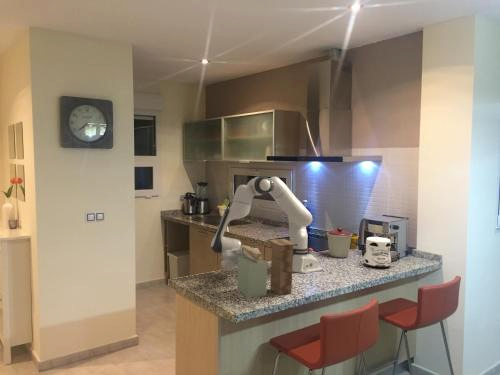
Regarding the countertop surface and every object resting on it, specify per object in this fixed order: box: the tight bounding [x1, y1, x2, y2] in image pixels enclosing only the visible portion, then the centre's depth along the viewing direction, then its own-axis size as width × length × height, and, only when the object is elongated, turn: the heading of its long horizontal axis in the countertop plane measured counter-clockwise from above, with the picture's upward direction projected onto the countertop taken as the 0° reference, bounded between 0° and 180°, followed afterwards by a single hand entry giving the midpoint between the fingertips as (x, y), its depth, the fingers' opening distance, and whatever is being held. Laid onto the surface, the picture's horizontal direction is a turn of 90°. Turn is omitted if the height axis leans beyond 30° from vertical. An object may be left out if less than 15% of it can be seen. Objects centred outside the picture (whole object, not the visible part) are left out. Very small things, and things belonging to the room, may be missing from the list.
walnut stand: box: [267, 238, 297, 296], centre depth 219 cm, size 10×14×26 cm
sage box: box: [236, 256, 268, 298], centre depth 216 cm, size 10×14×17 cm
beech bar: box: [240, 244, 263, 261], centre depth 218 cm, size 3×20×4 cm, turn 25°
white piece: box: [363, 236, 392, 269], centre depth 278 cm, size 17×17×18 cm
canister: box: [326, 226, 352, 259], centre depth 303 cm, size 18×18×21 cm
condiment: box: [349, 232, 359, 250], centre depth 331 cm, size 7×8×12 cm
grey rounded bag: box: [390, 251, 400, 262], centre depth 299 cm, size 15×8×20 cm
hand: (246, 249), depth 223 cm, fingers closed on beech bar, 3 cm apart
